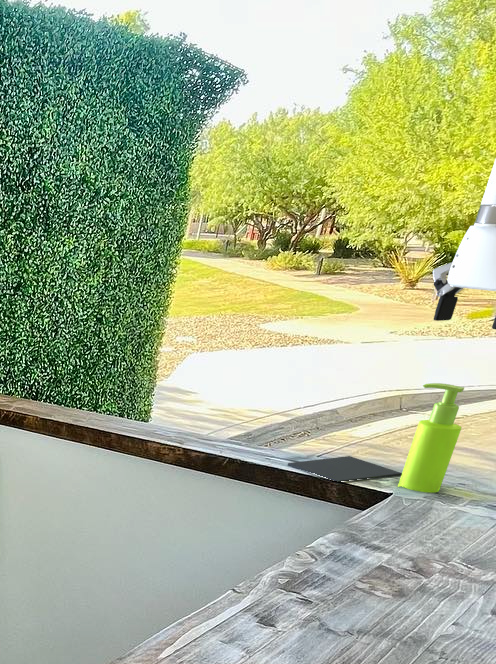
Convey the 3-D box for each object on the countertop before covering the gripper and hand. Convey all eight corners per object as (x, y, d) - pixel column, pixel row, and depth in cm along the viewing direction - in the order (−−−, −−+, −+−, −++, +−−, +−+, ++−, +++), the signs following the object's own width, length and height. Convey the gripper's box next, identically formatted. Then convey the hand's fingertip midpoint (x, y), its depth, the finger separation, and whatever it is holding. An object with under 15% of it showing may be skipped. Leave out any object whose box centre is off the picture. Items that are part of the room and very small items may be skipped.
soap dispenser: (394, 483, 145) (429, 379, 137) (440, 493, 140) (479, 386, 132) (385, 490, 141) (420, 384, 133) (432, 501, 136) (471, 391, 129)
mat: (348, 458, 159) (349, 455, 158) (401, 475, 149) (402, 473, 149) (287, 465, 155) (288, 462, 155) (337, 483, 145) (338, 480, 145)
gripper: (587, 218, 117) (544, 331, 123) (470, 215, 132) (437, 316, 139) (549, 219, 115) (507, 333, 122) (435, 216, 131) (403, 318, 137)
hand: (470, 324), depth 130 cm, fingers open, 9 cm apart
